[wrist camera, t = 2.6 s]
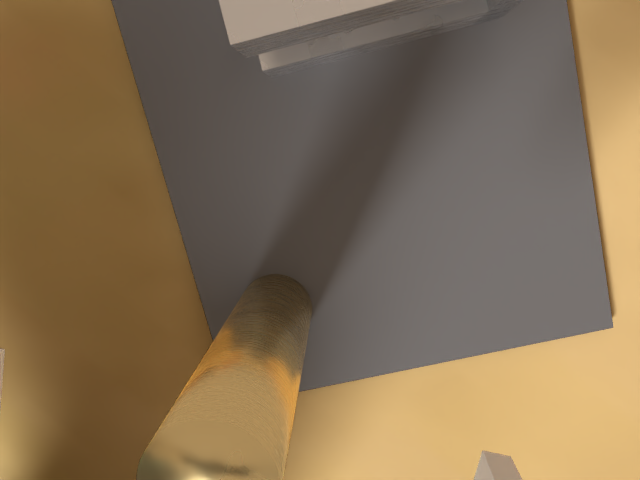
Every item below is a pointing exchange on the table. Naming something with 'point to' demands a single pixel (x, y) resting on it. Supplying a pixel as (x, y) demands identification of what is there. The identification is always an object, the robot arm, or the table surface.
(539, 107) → the mat
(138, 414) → the table surface
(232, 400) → the pin
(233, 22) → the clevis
